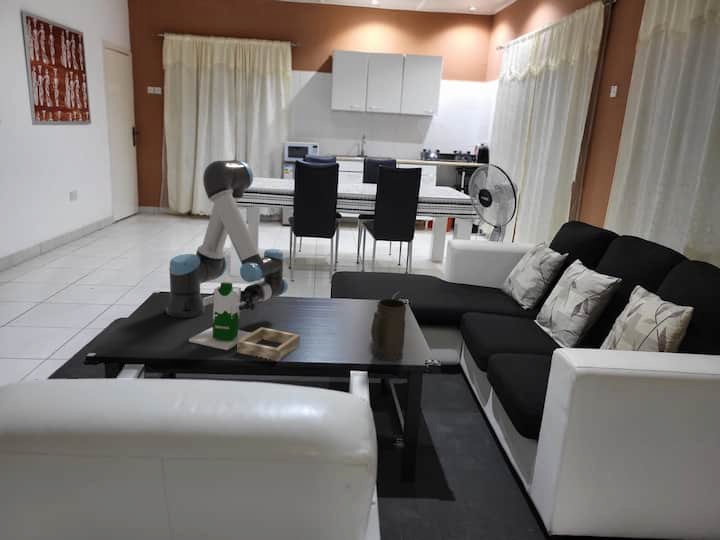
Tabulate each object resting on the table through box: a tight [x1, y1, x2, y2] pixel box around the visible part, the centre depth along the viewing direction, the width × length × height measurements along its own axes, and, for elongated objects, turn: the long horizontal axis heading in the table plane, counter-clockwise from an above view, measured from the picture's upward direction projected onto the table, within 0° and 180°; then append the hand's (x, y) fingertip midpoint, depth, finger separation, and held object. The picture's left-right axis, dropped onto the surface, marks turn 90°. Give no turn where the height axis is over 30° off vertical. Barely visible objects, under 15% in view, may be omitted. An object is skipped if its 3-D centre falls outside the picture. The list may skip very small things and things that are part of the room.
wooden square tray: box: [236, 326, 301, 362], centre depth 185 cm, size 16×16×4 cm
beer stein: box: [370, 298, 407, 361], centre depth 183 cm, size 15×11×20 cm
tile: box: [188, 326, 252, 351], centre depth 192 cm, size 16×16×1 cm
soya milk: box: [212, 281, 242, 340], centre depth 189 cm, size 9×9×20 cm
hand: (217, 305), depth 188 cm, fingers open, 13 cm apart
